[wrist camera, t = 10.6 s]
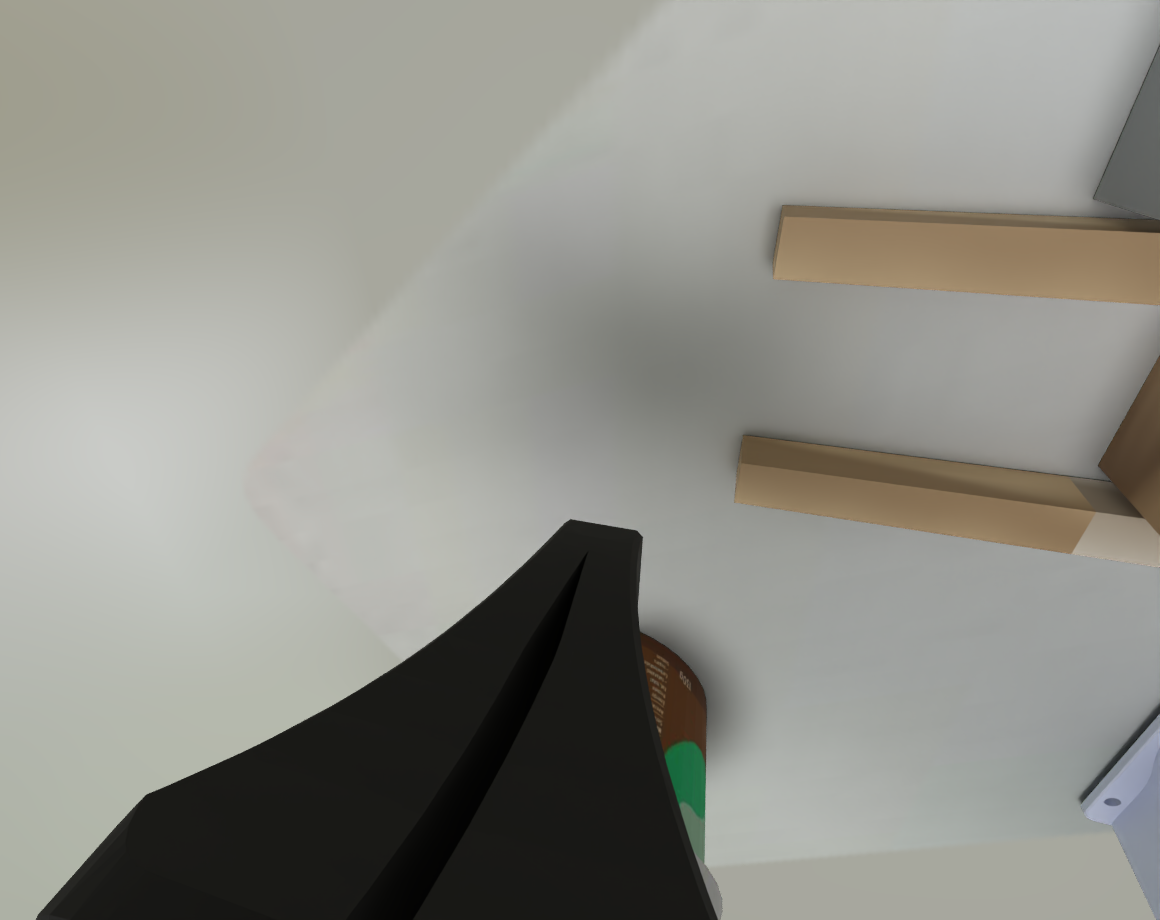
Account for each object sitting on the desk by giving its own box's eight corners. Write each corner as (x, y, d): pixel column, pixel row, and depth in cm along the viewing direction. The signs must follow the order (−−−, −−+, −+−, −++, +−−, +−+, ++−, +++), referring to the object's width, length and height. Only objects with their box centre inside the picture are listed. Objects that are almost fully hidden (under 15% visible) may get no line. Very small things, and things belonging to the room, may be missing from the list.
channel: (1401, 566, 16) (1489, 632, 14) (736, 472, 20) (733, 513, 18) (1729, 242, 11) (1927, 272, 10) (782, 205, 16) (784, 220, 14)
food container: (678, 794, 31) (647, 1040, 23) (573, 749, 32) (505, 975, 24) (781, 662, 24) (787, 949, 16) (643, 607, 25) (582, 859, 17)
